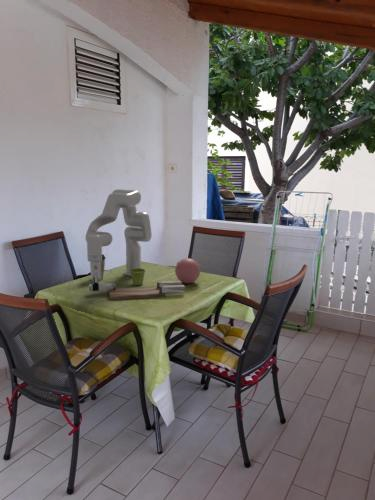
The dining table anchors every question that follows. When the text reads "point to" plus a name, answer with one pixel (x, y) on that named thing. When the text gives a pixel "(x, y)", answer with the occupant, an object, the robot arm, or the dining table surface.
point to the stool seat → (147, 291)
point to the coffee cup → (102, 266)
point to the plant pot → (137, 276)
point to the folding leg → (104, 287)
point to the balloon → (187, 270)
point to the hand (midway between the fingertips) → (95, 290)
